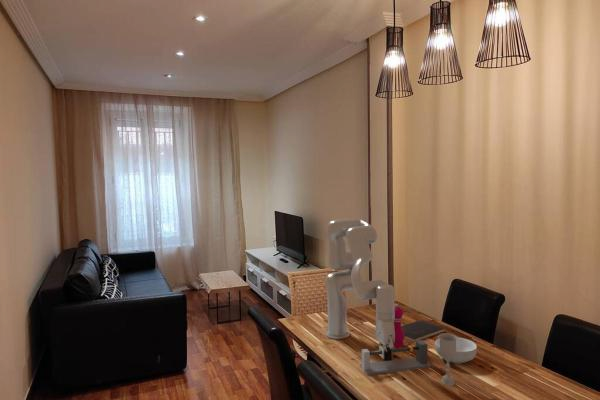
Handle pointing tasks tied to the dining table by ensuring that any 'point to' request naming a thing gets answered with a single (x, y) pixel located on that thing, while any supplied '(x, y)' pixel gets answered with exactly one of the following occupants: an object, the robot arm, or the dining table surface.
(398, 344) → the pepper mill
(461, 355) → the cereal bowl
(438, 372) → the dining table surface
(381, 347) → the sleeve
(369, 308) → the dining table surface
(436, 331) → the hardcover book
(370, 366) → the linear slide rail
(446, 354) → the chalice
